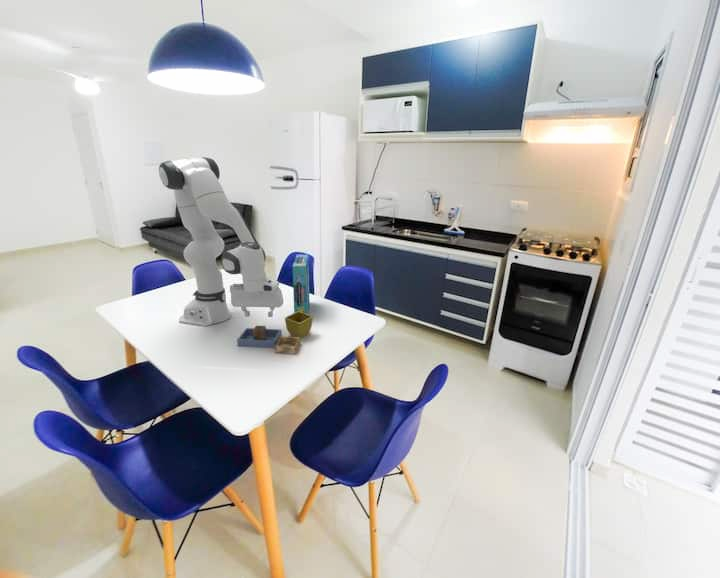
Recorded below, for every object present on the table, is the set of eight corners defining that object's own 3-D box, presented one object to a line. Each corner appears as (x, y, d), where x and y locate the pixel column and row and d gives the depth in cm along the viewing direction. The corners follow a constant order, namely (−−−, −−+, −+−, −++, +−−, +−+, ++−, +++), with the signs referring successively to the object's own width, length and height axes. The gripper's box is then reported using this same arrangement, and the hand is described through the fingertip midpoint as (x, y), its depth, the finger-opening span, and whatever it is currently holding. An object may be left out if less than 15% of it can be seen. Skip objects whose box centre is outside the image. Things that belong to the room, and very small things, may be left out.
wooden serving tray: (275, 354, 129) (275, 346, 128) (281, 343, 137) (280, 336, 136) (296, 355, 129) (296, 347, 128) (300, 344, 137) (300, 337, 136)
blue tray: (237, 347, 133) (237, 339, 132) (247, 335, 143) (246, 328, 142) (275, 348, 133) (274, 341, 132) (281, 336, 143) (281, 329, 141)
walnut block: (254, 343, 136) (252, 330, 134) (257, 338, 140) (256, 325, 138) (263, 343, 136) (262, 330, 134) (266, 338, 140) (265, 326, 138)
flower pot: (313, 334, 146) (313, 315, 142) (300, 342, 139) (299, 323, 135) (298, 329, 150) (298, 311, 147) (285, 336, 143) (284, 317, 140)
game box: (297, 303, 178) (295, 254, 169) (309, 303, 179) (308, 254, 169) (294, 319, 159) (291, 265, 149) (307, 319, 159) (305, 265, 150)
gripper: (225, 286, 126) (230, 319, 131) (278, 287, 125) (281, 320, 130) (232, 281, 132) (236, 312, 137) (282, 281, 131) (285, 313, 136)
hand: (259, 316), depth 134 cm, fingers open, 8 cm apart
